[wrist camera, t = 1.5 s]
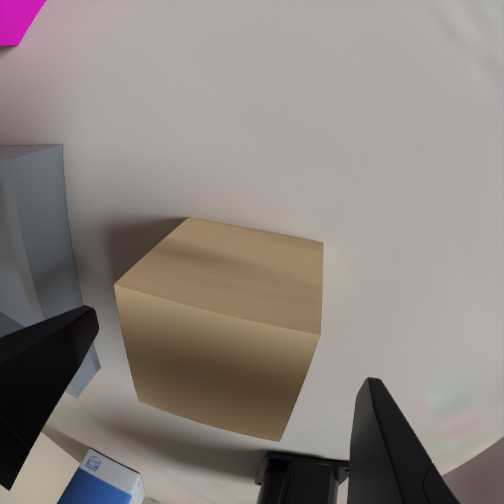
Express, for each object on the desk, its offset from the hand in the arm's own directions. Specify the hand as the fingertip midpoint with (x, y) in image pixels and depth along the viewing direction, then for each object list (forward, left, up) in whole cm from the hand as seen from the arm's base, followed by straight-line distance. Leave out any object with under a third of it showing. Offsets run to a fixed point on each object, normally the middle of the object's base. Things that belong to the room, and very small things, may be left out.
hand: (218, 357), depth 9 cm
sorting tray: (-2, +16, -4) cm, 17 cm away
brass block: (0, 0, -4) cm, 4 cm away
